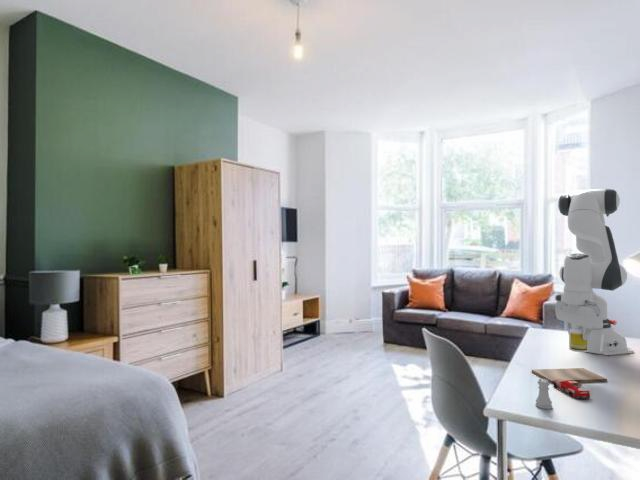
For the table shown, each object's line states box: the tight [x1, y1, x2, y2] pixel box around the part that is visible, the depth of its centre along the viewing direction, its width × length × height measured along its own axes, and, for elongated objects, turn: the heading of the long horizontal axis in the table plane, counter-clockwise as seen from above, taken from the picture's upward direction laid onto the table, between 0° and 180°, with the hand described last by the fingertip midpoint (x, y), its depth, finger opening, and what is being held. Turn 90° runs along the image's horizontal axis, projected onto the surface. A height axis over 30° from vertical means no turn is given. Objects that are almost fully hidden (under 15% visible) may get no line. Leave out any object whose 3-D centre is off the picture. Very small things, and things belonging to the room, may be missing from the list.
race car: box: [552, 380, 591, 400], centre depth 132 cm, size 13×5×4 cm, turn 1°
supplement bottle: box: [568, 323, 587, 353], centre depth 146 cm, size 5×5×10 cm
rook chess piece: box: [535, 377, 553, 410], centre depth 121 cm, size 4×4×8 cm
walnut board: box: [531, 367, 608, 385], centre depth 146 cm, size 20×12×1 cm, turn 93°
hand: (578, 337), depth 146 cm, fingers closed on supplement bottle, 5 cm apart
